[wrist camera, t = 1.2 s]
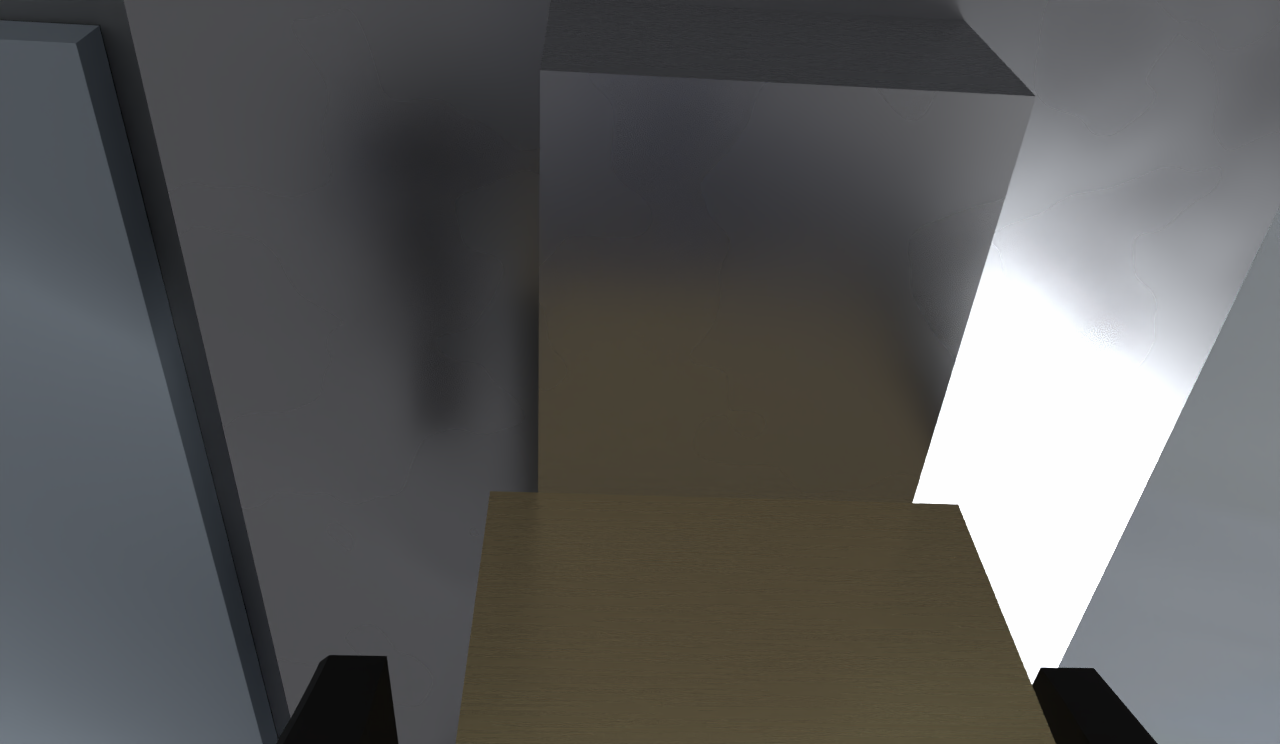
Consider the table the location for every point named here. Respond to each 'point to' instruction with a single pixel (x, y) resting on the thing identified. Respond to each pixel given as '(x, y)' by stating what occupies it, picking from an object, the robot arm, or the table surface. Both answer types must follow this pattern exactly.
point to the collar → (737, 625)
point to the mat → (101, 440)
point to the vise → (697, 274)
